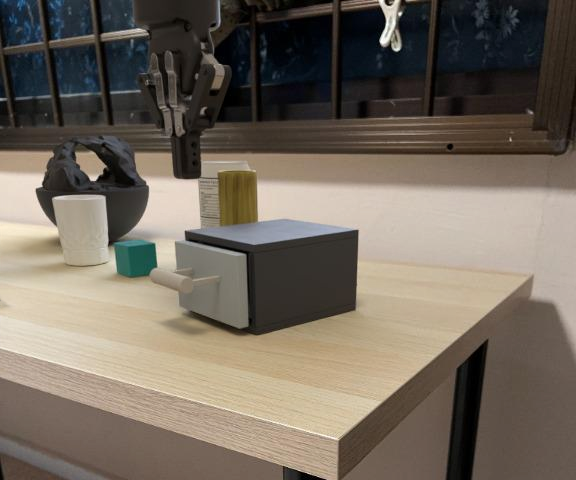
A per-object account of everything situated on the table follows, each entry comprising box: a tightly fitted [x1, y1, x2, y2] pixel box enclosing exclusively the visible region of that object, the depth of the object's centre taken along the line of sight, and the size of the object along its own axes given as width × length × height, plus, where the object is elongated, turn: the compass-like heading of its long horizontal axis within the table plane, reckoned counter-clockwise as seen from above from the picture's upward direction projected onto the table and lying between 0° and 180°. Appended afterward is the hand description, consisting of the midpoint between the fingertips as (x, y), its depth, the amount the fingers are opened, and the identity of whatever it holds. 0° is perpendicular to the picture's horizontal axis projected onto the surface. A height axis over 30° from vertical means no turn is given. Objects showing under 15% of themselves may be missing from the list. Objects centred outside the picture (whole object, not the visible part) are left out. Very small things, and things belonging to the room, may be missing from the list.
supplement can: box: [197, 160, 251, 229], centre depth 94 cm, size 8×8×15 cm
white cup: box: [52, 195, 110, 267], centre depth 96 cm, size 8×8×10 cm
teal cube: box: [113, 239, 159, 278], centre depth 89 cm, size 4×4×4 cm
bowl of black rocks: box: [34, 134, 150, 242], centre depth 112 cm, size 20×20×19 cm
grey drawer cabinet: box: [184, 218, 360, 336], centre depth 69 cm, size 15×13×9 cm
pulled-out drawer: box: [149, 239, 252, 330], centre depth 66 cm, size 18×11×7 cm, turn 131°
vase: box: [217, 169, 259, 226], centre depth 85 cm, size 6×6×14 cm
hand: (187, 178), depth 59 cm, fingers closed
